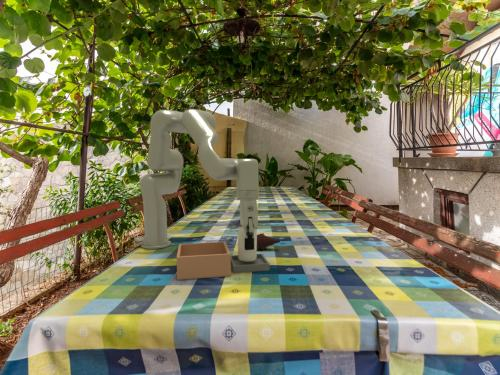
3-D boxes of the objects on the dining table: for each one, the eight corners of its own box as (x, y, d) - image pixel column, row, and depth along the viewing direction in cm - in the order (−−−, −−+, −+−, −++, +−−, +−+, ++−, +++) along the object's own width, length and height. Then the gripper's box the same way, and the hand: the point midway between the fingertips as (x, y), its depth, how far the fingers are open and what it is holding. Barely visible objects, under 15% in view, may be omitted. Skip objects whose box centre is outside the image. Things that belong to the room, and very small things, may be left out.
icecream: (281, 232, 133) (248, 233, 137) (277, 232, 126) (242, 233, 130) (282, 249, 131) (248, 250, 136) (278, 249, 124) (242, 250, 129)
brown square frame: (177, 279, 98) (176, 257, 97) (179, 263, 114) (179, 244, 113) (230, 275, 100) (230, 254, 100) (225, 260, 117) (225, 241, 116)
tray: (233, 273, 103) (233, 266, 103) (229, 261, 115) (229, 255, 115) (269, 270, 105) (269, 263, 105) (262, 259, 117) (262, 253, 117)
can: (254, 262, 107) (255, 227, 106) (236, 261, 108) (236, 226, 107) (258, 257, 113) (258, 224, 112) (240, 256, 114) (240, 223, 114)
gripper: (263, 197, 100) (264, 253, 102) (253, 192, 117) (254, 241, 118) (240, 198, 99) (240, 255, 101) (233, 193, 116) (234, 242, 117)
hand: (248, 246), depth 109 cm, fingers closed on can, 4 cm apart
